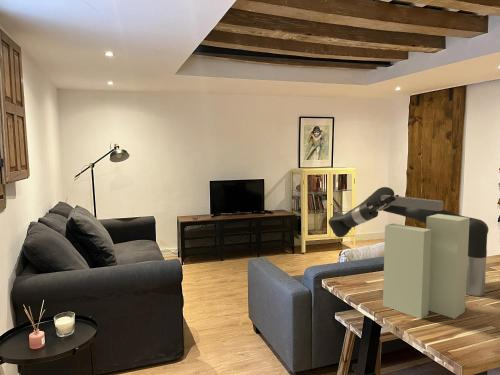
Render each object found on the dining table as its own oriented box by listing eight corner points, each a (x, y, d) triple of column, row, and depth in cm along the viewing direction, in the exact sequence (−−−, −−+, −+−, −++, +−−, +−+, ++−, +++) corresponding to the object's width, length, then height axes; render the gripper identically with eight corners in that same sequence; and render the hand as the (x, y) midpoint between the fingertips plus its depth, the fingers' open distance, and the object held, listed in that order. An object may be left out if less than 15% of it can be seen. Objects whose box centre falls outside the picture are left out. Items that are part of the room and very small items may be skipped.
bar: (385, 202, 157) (385, 194, 157) (442, 210, 138) (443, 200, 138) (380, 203, 155) (380, 195, 155) (438, 211, 136) (438, 201, 136)
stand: (434, 302, 156) (438, 213, 152) (465, 311, 147) (469, 217, 143) (423, 308, 150) (426, 216, 146) (454, 318, 141) (458, 220, 137)
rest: (390, 302, 157) (392, 223, 153) (428, 314, 144) (431, 229, 141) (382, 305, 153) (385, 225, 150) (420, 319, 140) (424, 231, 137)
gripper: (351, 206, 160) (382, 190, 148) (370, 203, 169) (401, 187, 156) (358, 222, 158) (390, 207, 145) (377, 218, 167) (409, 203, 154)
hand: (396, 197), depth 151 cm, fingers closed on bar, 3 cm apart
